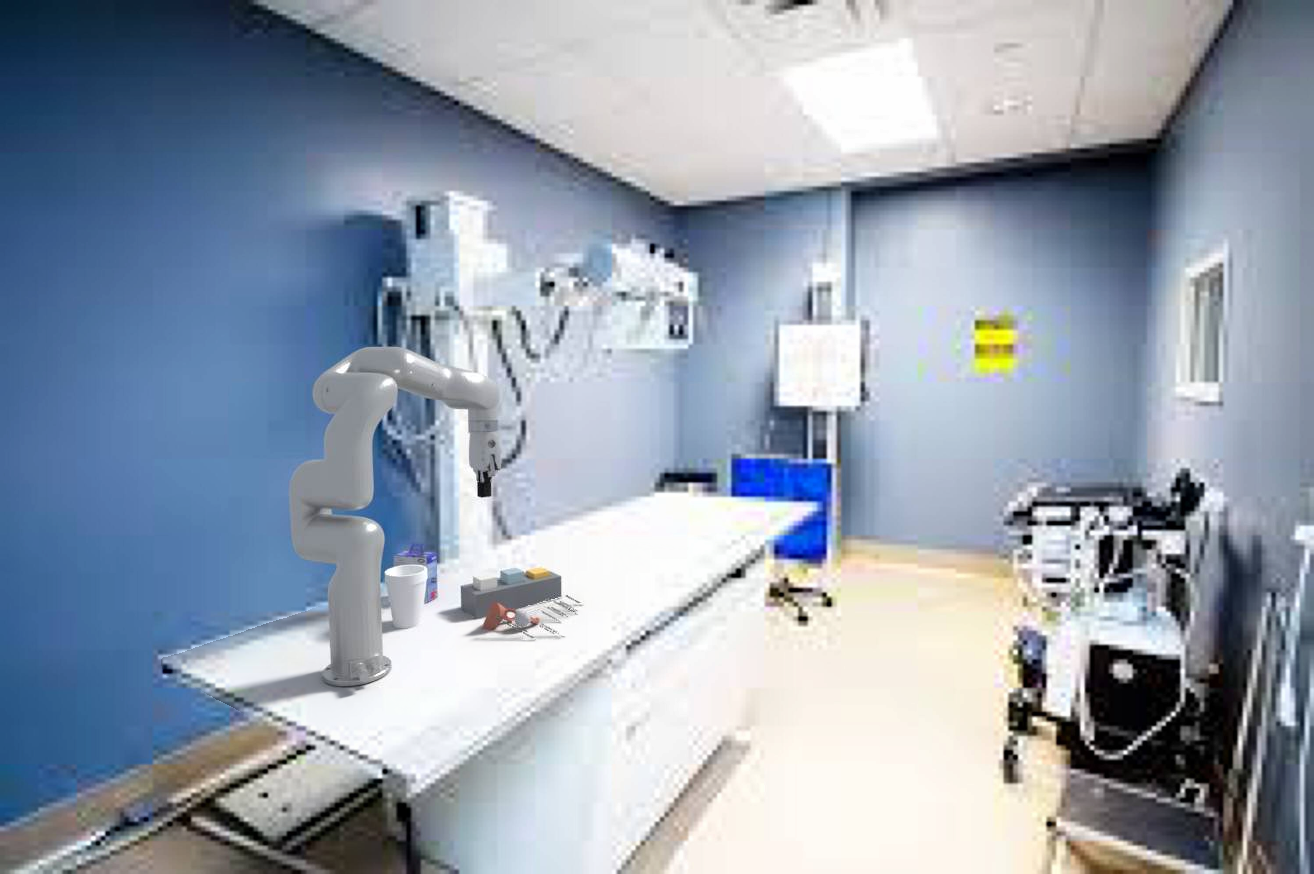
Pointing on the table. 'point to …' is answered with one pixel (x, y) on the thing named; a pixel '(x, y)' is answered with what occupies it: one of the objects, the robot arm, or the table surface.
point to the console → (510, 594)
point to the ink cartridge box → (425, 560)
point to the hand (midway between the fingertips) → (484, 496)
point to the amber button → (537, 573)
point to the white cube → (484, 582)
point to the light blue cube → (512, 576)
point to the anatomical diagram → (517, 616)
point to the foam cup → (406, 594)
